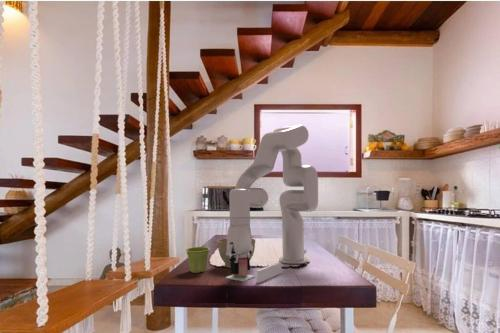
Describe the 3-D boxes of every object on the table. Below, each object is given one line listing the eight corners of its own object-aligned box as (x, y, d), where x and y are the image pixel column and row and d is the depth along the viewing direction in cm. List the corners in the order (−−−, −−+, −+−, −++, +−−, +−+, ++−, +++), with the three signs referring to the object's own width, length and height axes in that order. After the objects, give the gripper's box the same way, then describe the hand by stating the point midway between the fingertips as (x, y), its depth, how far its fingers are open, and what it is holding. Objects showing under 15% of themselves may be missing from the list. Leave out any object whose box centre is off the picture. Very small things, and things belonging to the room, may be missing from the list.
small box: (233, 276, 118) (233, 254, 118) (233, 273, 122) (233, 251, 123) (247, 276, 118) (247, 253, 118) (247, 273, 122) (247, 251, 123)
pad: (237, 274, 125) (237, 273, 125) (254, 277, 120) (254, 275, 120) (225, 278, 119) (225, 277, 119) (243, 281, 115) (243, 280, 115)
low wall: (279, 272, 127) (279, 262, 127) (281, 272, 126) (281, 262, 126) (256, 282, 113) (256, 270, 114) (259, 282, 113) (258, 271, 113)
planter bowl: (258, 262, 144) (258, 237, 145) (251, 271, 129) (251, 243, 129) (223, 261, 148) (223, 236, 148) (212, 270, 132) (212, 242, 133)
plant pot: (205, 274, 125) (205, 251, 125) (181, 273, 127) (182, 250, 127) (212, 268, 134) (212, 247, 134) (191, 267, 136) (191, 246, 136)
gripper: (245, 219, 131) (245, 265, 129) (216, 223, 116) (217, 275, 115) (260, 220, 126) (261, 268, 125) (233, 224, 112) (234, 278, 111)
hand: (240, 271), depth 120 cm, fingers closed on small box, 6 cm apart
